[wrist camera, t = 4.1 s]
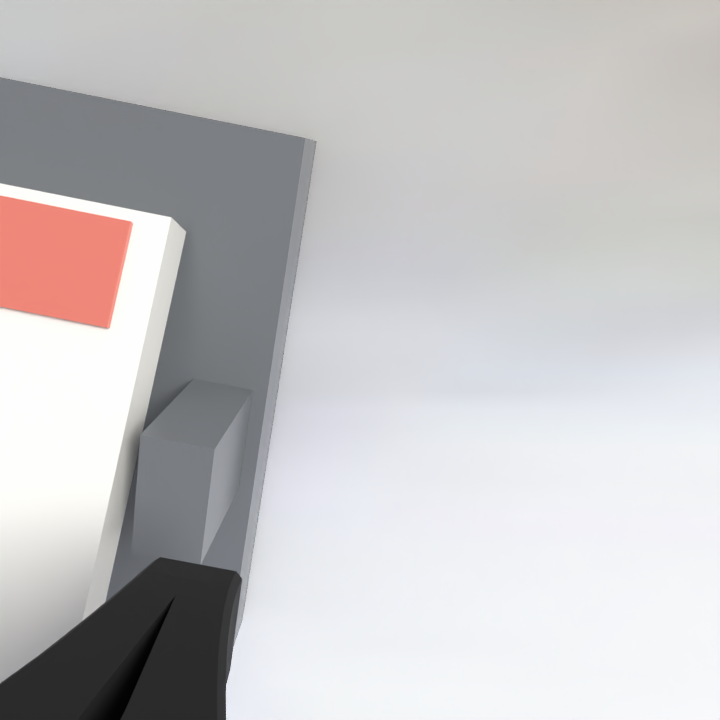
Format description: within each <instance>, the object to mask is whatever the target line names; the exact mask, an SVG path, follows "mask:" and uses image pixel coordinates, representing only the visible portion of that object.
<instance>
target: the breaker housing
mask: <svg viewBox="0 0 720 720" xmlns="http://www.w3.org/2000/svg"><path fill="white" fill-rule="evenodd" d="M315 147H316V141H313V140H310V139H306V138H302V137H297V136H292V135H287V134H282V133H277V132H272V131H267V130H262V129H257V128H252V127H246V126H241V125H236V124H231V123H226V122H221V121H216V120H211V119H206V118H201V117H196V116H191V115H186V114H181V113H176V112H171V111H166V110H161V109H156V108H151V107H146V106H141V105H136V104H131V103H126V102H121V101H116V100H111V99H106V98H101V97H96V96H91V95H86V94H81V93H76V92H71V91H66V90H61V89H56V88H51V87H46V86H41V85H36V84H30V83H25V82H20V81H15V80H10V79H5V78H0V183H1V184H6V185H11V186H16V187H21V188H26V189H31V190H36V191H41V192H46V193H51V194H56V195H62V196H67V197H72V198H77V199H82V200H87V201H92V202H97V203H102V204H107V205H112V206H117V207H122V208H127V209H132V210H137V211H142V212H147V213H152V214H157V215H162V216H167V217H172V218H173V219H174V220H175V221H176V222H177V223H178V224H179V225H180V226H181V227H182V228H183V229H184V230H185V231H186V235H185V240H184V245H183V249H182V254H181V258H180V263H179V268H178V272H177V277H176V281H175V286H174V290H173V295H172V300H171V304H170V309H169V313H168V318H167V322H166V327H165V332H164V336H163V341H162V345H161V350H160V354H159V359H158V364H157V368H156V373H155V377H154V382H153V386H152V391H151V396H150V400H149V405H148V409H147V414H146V418H145V423H144V428H143V432H142V433H141V435H140V446H139V450H138V455H137V460H136V464H135V469H134V473H133V478H132V483H131V487H130V492H129V496H128V501H127V505H126V510H125V515H124V519H123V524H122V528H121V533H120V537H119V542H118V547H117V551H116V556H115V560H114V565H113V569H112V574H111V579H110V583H109V588H108V592H107V597H106V601H107V600H108V599H110V598H111V597H112V596H113V595H114V594H116V593H117V592H118V591H119V590H120V589H121V588H123V587H124V586H125V585H126V584H127V583H128V582H130V581H131V580H132V579H133V578H134V577H135V576H137V575H138V574H139V573H140V572H141V571H142V570H143V569H145V568H146V567H147V566H148V565H149V564H150V563H152V562H153V561H154V560H156V559H158V558H159V557H163V558H168V559H173V560H179V561H184V562H190V563H195V564H200V565H206V566H211V567H216V568H222V569H227V570H233V571H237V573H238V574H239V575H240V577H241V578H242V585H241V592H240V600H239V607H238V615H237V622H236V629H235V637H234V643H235V640H236V637H237V634H238V631H239V628H240V625H241V623H242V618H243V612H244V606H245V599H246V593H247V586H248V580H249V573H250V567H251V560H252V554H253V547H254V541H255V535H256V528H257V522H258V515H259V509H260V502H261V496H262V489H263V483H264V476H265V470H266V464H267V457H268V451H269V444H270V438H271V431H272V425H273V418H274V412H275V405H276V399H277V393H278V386H279V380H280V373H281V367H282V360H283V354H284V347H285V341H286V335H287V328H288V322H289V315H290V309H291V302H292V296H293V289H294V283H295V276H296V270H297V264H298V257H299V251H300V244H301V238H302V231H303V225H304V218H305V212H306V205H307V199H308V193H309V186H310V180H311V173H312V167H313V160H314V154H315ZM106 601H105V602H106ZM233 646H234V644H233Z"/></svg>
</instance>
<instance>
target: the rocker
mask: <svg viewBox="0 0 720 720" xmlns="http://www.w3.org/2000/svg"><path fill="white" fill-rule="evenodd" d="M185 235H186V231H185V230H184V229H183V228H182V227H181V226H180V225H179V224H178V223H177V222H176V221H175V220H174V219H173V218H172V217H167V216H162V215H157V214H152V213H147V212H142V211H137V210H132V209H127V208H122V207H117V206H112V205H107V204H102V203H97V202H92V201H87V200H82V199H77V198H72V197H67V196H62V195H56V194H51V193H46V192H41V191H36V190H31V189H26V188H21V187H16V186H11V185H6V184H1V183H0V683H1V682H2V681H4V680H5V679H7V678H8V677H9V676H11V675H12V674H14V673H15V672H16V671H18V670H19V669H20V668H22V667H23V666H25V665H26V664H27V663H29V662H30V661H31V660H33V659H34V658H36V657H37V656H38V655H40V654H41V653H42V652H44V651H45V650H46V649H47V648H49V647H50V646H51V645H53V644H54V643H55V642H56V641H58V640H59V639H60V638H61V637H63V636H64V635H65V634H66V633H68V632H69V631H70V630H71V629H73V628H74V627H75V626H77V625H78V624H79V623H80V622H82V621H83V620H84V619H85V618H87V617H88V616H89V615H90V614H92V613H93V612H94V611H95V610H96V609H98V608H99V607H100V606H101V605H102V604H104V603H105V601H106V597H107V592H108V588H109V583H110V579H111V574H112V569H113V565H114V560H115V556H116V551H117V547H118V542H119V537H120V533H121V528H122V524H123V519H124V515H125V510H126V505H127V501H128V496H129V492H130V487H131V483H132V478H133V473H134V469H135V464H136V460H137V455H138V450H139V446H140V435H141V433H142V432H143V428H144V423H145V418H146V414H147V409H148V405H149V400H150V396H151V391H152V386H153V382H154V377H155V373H156V368H157V364H158V359H159V354H160V350H161V345H162V341H163V336H164V332H165V327H166V322H167V318H168V313H169V309H170V304H171V300H172V295H173V290H174V286H175V281H176V277H177V272H178V268H179V263H180V258H181V254H182V249H183V245H184V240H185Z"/></svg>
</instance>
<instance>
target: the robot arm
mask: <svg viewBox="0 0 720 720" xmlns="http://www.w3.org/2000/svg"><path fill="white" fill-rule="evenodd" d="M241 585H242V578H241V577H240V575H239V574H238V573H237V571H233V570H227V569H222V568H216V567H211V566H206V565H200V564H195V563H190V562H184V561H179V560H173V559H168V558H163V557H159V558H158V559H156V560H154V561H153V562H152V563H150V564H149V565H148V566H147V567H146V568H145V569H143V570H142V571H141V572H140V573H139V574H138V575H137V576H135V577H134V578H133V579H132V580H131V581H130V582H128V583H127V584H126V585H125V586H124V587H123V588H121V589H120V590H119V591H118V592H117V593H116V594H114V595H113V596H112V597H111V598H110V599H108V600H107V601H106V602H105V603H104V604H102V605H101V606H100V607H99V608H98V609H96V610H95V611H94V612H93V613H92V614H90V615H89V616H88V617H87V618H85V619H84V620H83V621H82V622H80V623H79V624H78V625H77V626H75V627H74V628H73V629H71V630H70V631H69V632H68V633H66V634H65V635H64V636H63V637H61V638H60V639H59V640H58V641H56V642H55V643H54V644H53V645H51V646H50V647H49V648H47V649H46V650H45V651H44V652H42V653H41V654H40V655H38V656H37V657H36V658H34V659H33V660H31V661H30V662H29V663H27V664H26V665H25V666H23V667H22V668H20V669H19V670H18V671H16V672H15V673H14V674H12V675H11V676H9V677H8V678H7V679H5V680H4V681H2V682H1V683H0V720H226V683H227V679H228V675H229V671H230V666H231V659H232V651H233V644H234V637H235V629H236V622H237V615H238V607H239V600H240V592H241Z"/></svg>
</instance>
